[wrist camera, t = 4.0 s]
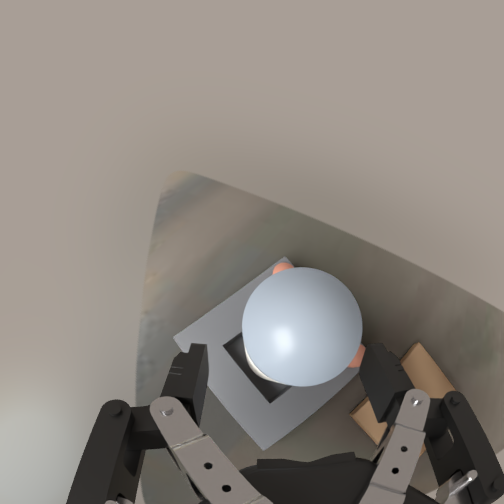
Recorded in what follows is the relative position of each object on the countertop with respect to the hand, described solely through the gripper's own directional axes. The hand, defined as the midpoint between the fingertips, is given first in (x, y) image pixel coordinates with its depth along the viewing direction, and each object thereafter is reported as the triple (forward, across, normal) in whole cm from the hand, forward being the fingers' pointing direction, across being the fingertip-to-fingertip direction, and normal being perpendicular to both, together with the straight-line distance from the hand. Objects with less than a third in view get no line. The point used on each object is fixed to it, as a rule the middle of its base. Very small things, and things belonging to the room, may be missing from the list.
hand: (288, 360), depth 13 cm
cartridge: (+7, 0, +6) cm, 9 cm away
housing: (+7, 0, +6) cm, 10 cm away
